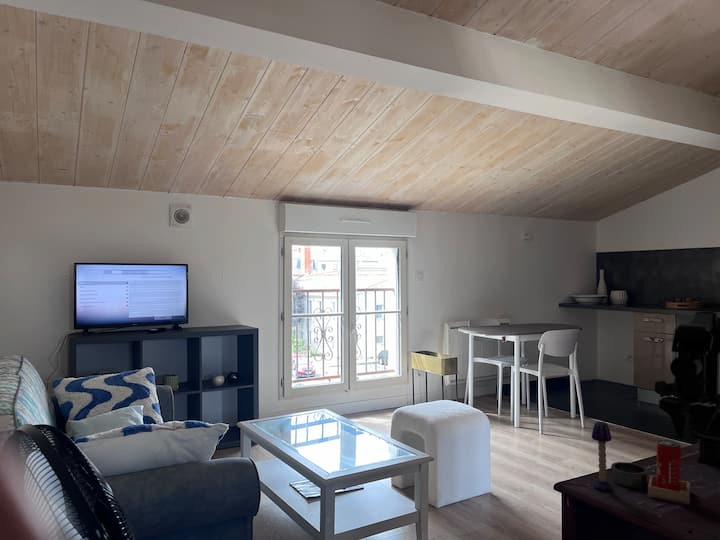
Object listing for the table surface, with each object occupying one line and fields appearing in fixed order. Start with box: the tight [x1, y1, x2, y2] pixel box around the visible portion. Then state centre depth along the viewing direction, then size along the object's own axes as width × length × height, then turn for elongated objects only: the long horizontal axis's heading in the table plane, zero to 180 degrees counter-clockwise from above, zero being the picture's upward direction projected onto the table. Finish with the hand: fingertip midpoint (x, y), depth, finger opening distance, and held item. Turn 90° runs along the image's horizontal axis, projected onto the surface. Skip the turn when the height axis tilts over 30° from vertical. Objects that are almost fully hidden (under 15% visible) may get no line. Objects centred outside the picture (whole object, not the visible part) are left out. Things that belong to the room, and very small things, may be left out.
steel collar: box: [610, 461, 649, 489], centre depth 143 cm, size 8×8×4 cm
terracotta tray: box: [647, 474, 691, 505], centre depth 135 cm, size 9×9×2 cm
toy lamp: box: [591, 421, 613, 493], centre depth 138 cm, size 5×5×17 cm
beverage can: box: [656, 439, 682, 491], centre depth 135 cm, size 5×5×12 cm
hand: (691, 435), depth 140 cm, fingers open, 9 cm apart
